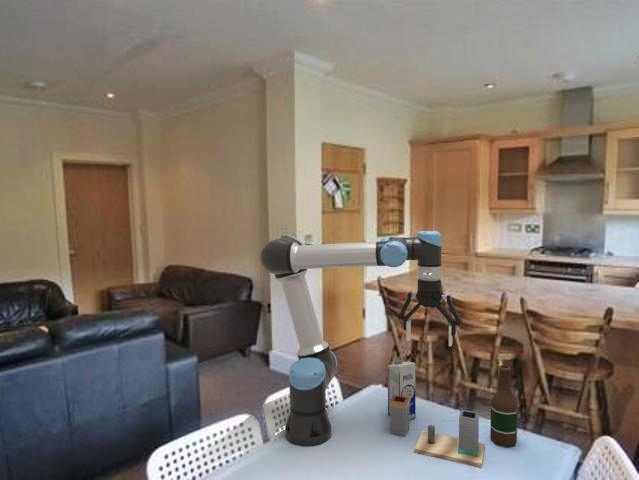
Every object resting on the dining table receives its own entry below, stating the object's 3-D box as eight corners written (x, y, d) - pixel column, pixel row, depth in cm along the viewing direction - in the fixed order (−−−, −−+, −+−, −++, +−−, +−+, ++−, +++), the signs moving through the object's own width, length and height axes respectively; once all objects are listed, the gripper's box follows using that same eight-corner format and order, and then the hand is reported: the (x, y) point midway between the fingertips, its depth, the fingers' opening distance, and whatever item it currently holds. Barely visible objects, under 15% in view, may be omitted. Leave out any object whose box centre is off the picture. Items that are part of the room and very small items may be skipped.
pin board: (414, 452, 130) (414, 432, 130) (422, 434, 140) (422, 416, 140) (481, 467, 122) (482, 446, 122) (484, 447, 132) (485, 428, 132)
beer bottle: (520, 449, 131) (521, 372, 129) (492, 447, 132) (493, 370, 130) (513, 436, 138) (515, 362, 136) (488, 433, 140) (489, 361, 138)
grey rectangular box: (458, 453, 127) (458, 417, 126) (460, 443, 132) (460, 409, 131) (477, 457, 125) (478, 420, 124) (479, 447, 130) (479, 412, 129)
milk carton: (400, 423, 147) (399, 366, 146) (387, 415, 153) (387, 360, 152) (415, 418, 151) (415, 362, 149) (403, 410, 157) (403, 356, 155)
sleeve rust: (389, 433, 141) (389, 401, 140) (394, 426, 146) (393, 394, 145) (406, 437, 139) (406, 404, 138) (410, 429, 143) (410, 397, 143)
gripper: (388, 278, 143) (389, 341, 145) (468, 283, 132) (467, 350, 134) (394, 274, 150) (395, 335, 151) (471, 278, 139) (470, 343, 141)
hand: (429, 342), depth 143 cm, fingers open, 13 cm apart
